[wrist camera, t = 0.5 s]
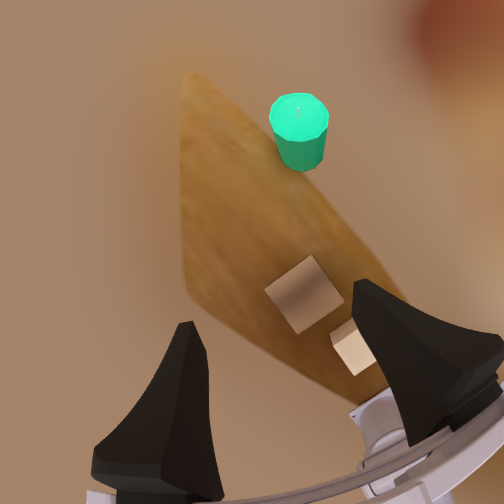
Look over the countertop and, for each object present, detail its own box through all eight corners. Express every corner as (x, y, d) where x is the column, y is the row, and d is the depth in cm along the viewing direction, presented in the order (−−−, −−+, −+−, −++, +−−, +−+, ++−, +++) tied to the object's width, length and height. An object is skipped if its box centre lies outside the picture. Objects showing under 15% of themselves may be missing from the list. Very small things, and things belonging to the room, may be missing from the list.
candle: (326, 170, 34) (335, 134, 22) (281, 173, 35) (269, 139, 23) (320, 129, 34) (324, 81, 22) (277, 133, 35) (263, 87, 23)
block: (378, 339, 33) (388, 351, 28) (348, 360, 34) (354, 375, 29) (360, 311, 33) (368, 320, 29) (329, 333, 34) (332, 346, 29)
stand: (342, 298, 34) (344, 301, 31) (298, 329, 35) (297, 334, 32) (310, 254, 35) (311, 254, 32) (266, 286, 36) (263, 289, 33)
